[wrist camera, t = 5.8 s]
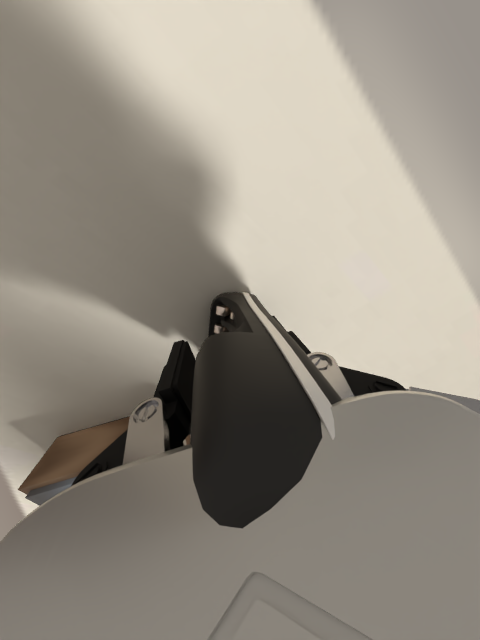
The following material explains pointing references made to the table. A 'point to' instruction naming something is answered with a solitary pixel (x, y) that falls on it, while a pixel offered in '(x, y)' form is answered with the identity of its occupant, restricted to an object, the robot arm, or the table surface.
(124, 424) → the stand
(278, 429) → the battery charger
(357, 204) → the table surface
